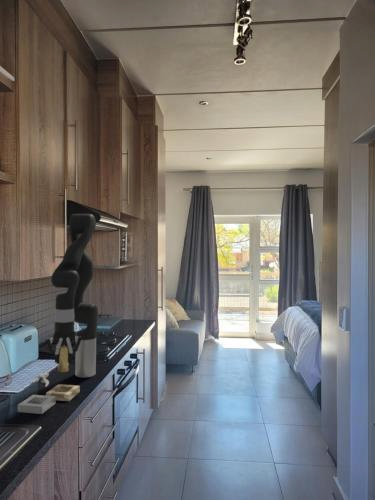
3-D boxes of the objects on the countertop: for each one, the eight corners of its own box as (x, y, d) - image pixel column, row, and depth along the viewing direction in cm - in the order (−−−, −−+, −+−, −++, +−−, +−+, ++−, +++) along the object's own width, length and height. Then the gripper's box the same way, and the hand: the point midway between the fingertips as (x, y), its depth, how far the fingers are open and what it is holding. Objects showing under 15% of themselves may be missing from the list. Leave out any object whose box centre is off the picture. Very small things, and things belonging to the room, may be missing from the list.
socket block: (32, 401, 139) (32, 394, 139) (55, 403, 138) (55, 396, 138) (17, 411, 130) (17, 404, 130) (42, 414, 129) (42, 406, 129)
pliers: (22, 384, 153) (34, 372, 168) (22, 388, 153) (33, 376, 168) (46, 384, 154) (55, 372, 169) (46, 387, 154) (55, 375, 169)
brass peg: (61, 368, 147) (61, 344, 148) (70, 369, 147) (70, 344, 147) (56, 372, 143) (56, 346, 144) (65, 372, 143) (66, 347, 143)
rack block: (58, 390, 151) (58, 384, 151) (79, 391, 149) (79, 385, 149) (45, 399, 141) (46, 392, 141) (68, 401, 140) (68, 394, 140)
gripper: (45, 322, 139) (44, 367, 139) (83, 320, 145) (82, 363, 144) (45, 319, 146) (44, 361, 146) (82, 317, 152) (81, 358, 151)
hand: (63, 362), depth 145 cm, fingers closed on brass peg, 4 cm apart
